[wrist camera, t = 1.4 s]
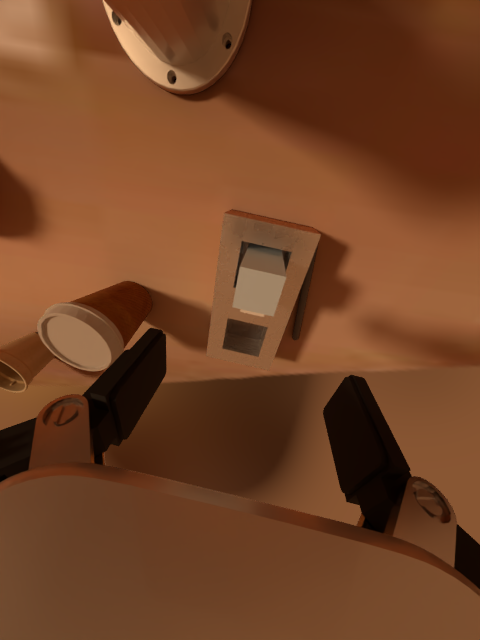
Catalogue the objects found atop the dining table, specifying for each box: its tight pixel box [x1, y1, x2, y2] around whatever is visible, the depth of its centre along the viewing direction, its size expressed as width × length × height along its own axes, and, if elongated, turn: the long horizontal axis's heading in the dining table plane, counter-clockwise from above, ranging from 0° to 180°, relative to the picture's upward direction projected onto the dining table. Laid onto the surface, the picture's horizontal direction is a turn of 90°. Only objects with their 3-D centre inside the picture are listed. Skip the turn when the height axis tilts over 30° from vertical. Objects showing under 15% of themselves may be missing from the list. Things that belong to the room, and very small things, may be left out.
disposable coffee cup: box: [37, 281, 152, 371], centre depth 28 cm, size 10×10×12 cm
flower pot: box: [0, 332, 55, 392], centre depth 39 cm, size 9×9×9 cm
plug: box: [232, 243, 286, 317], centre depth 22 cm, size 5×4×10 cm
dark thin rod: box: [292, 247, 317, 340], centre depth 29 cm, size 15×1×1 cm, turn 179°
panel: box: [206, 209, 321, 370], centre depth 28 cm, size 20×10×5 cm, turn 169°
